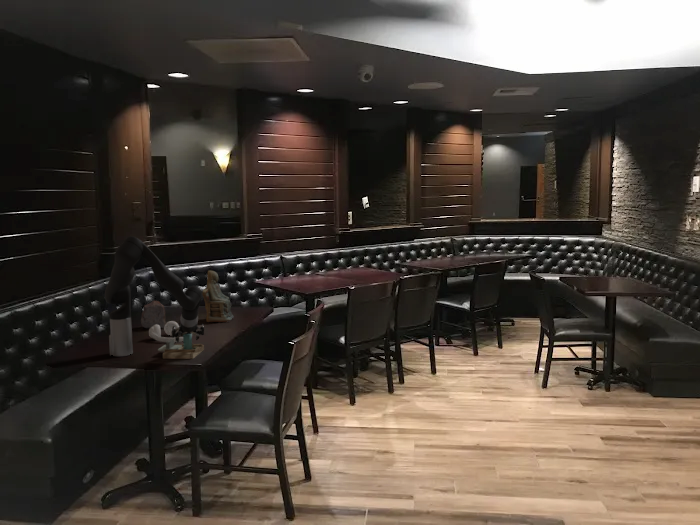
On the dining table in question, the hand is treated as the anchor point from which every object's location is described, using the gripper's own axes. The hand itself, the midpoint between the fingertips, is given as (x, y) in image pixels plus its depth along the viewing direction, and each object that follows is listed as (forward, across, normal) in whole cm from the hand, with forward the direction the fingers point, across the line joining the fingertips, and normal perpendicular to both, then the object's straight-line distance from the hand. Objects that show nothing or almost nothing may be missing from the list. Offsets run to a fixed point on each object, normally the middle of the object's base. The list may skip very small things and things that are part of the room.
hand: (187, 339), depth 273 cm
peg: (+4, 0, -6) cm, 7 cm away
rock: (+51, -10, +41) cm, 66 cm away
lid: (+5, -8, -1) cm, 9 cm away
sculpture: (+55, +26, +45) cm, 75 cm away
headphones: (+29, -4, +19) cm, 35 cm away
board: (+4, -2, -5) cm, 7 cm away
